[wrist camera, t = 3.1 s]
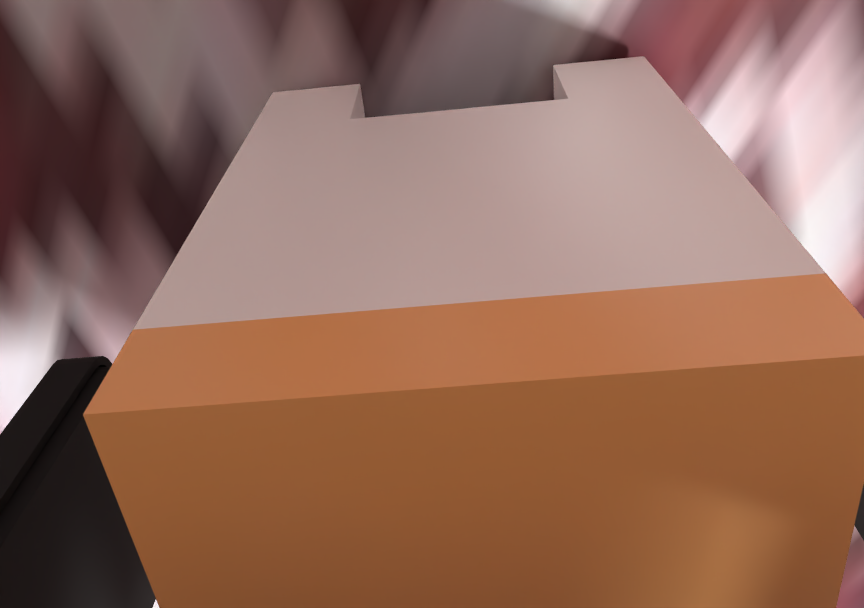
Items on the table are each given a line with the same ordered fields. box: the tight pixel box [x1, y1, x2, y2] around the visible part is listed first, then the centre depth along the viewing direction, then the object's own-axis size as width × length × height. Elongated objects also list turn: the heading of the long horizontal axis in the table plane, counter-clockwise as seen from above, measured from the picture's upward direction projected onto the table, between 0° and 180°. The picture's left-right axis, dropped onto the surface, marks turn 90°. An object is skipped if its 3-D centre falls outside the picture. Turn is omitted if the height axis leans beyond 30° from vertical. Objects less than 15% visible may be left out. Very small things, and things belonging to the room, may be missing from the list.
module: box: [83, 56, 864, 608], centre depth 10 cm, size 5×6×7 cm
